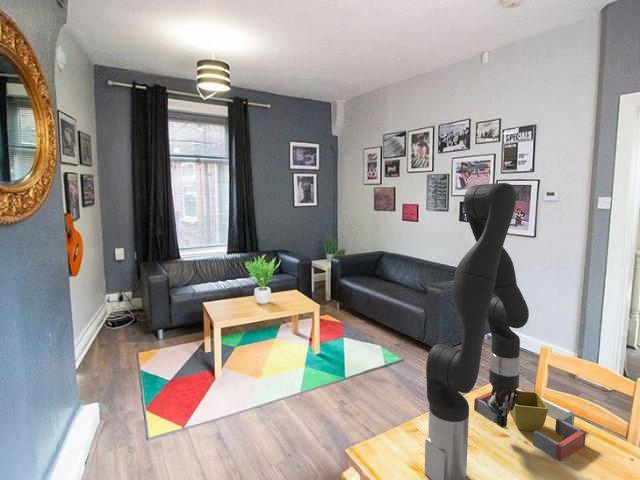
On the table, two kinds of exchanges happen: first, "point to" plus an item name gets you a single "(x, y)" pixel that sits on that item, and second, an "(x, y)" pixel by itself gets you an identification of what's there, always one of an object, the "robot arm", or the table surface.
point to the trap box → (544, 443)
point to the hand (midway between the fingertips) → (501, 425)
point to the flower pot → (529, 411)
